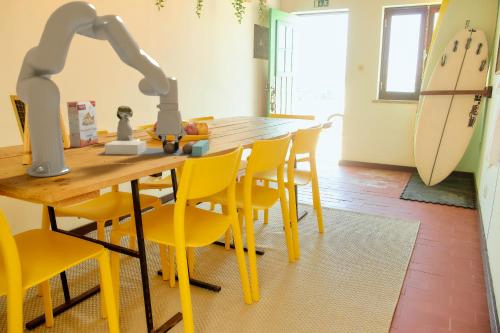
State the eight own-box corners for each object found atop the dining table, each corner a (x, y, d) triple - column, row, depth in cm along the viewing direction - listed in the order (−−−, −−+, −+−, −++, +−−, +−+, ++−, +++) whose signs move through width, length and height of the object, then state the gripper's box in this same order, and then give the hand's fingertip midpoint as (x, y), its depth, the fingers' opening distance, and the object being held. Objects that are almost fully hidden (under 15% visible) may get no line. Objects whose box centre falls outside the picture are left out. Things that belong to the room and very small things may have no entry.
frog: (108, 145, 186) (105, 106, 182) (121, 140, 198) (119, 104, 194) (131, 145, 184) (128, 106, 180) (143, 141, 196) (141, 105, 192)
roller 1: (173, 153, 161) (171, 143, 160) (164, 154, 161) (162, 145, 160) (179, 149, 169) (177, 140, 169) (170, 150, 170) (168, 141, 169)
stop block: (202, 156, 156) (201, 146, 155) (192, 156, 157) (192, 146, 156) (209, 149, 172) (209, 140, 171) (200, 149, 172) (200, 140, 171)
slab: (138, 154, 159) (137, 144, 158) (105, 153, 160) (104, 144, 160) (146, 150, 169) (145, 141, 168) (115, 149, 170) (114, 140, 169)
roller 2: (192, 153, 160) (190, 143, 159) (183, 155, 160) (181, 146, 160) (197, 149, 169) (194, 140, 168) (188, 151, 169) (186, 142, 168)
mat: (202, 157, 156) (202, 156, 156) (97, 155, 160) (97, 154, 160) (209, 150, 172) (209, 149, 172) (113, 148, 175) (113, 147, 175)
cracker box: (81, 147, 178) (77, 101, 174) (70, 147, 179) (65, 101, 175) (99, 142, 192) (95, 100, 187) (88, 142, 193) (84, 100, 188)
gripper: (146, 108, 158) (149, 152, 162) (186, 108, 157) (188, 152, 161) (152, 106, 165) (154, 149, 169) (191, 107, 164) (192, 149, 168)
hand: (171, 150), depth 165 cm, fingers closed on roller 1, 4 cm apart
